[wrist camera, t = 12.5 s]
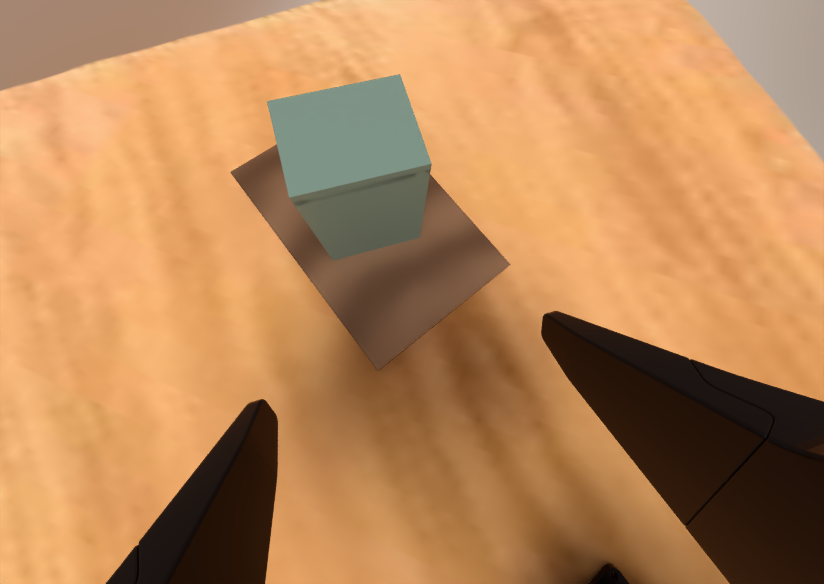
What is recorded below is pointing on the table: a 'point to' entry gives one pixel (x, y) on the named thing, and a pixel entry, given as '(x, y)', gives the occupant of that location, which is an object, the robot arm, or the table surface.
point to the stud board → (382, 264)
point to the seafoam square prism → (354, 164)
